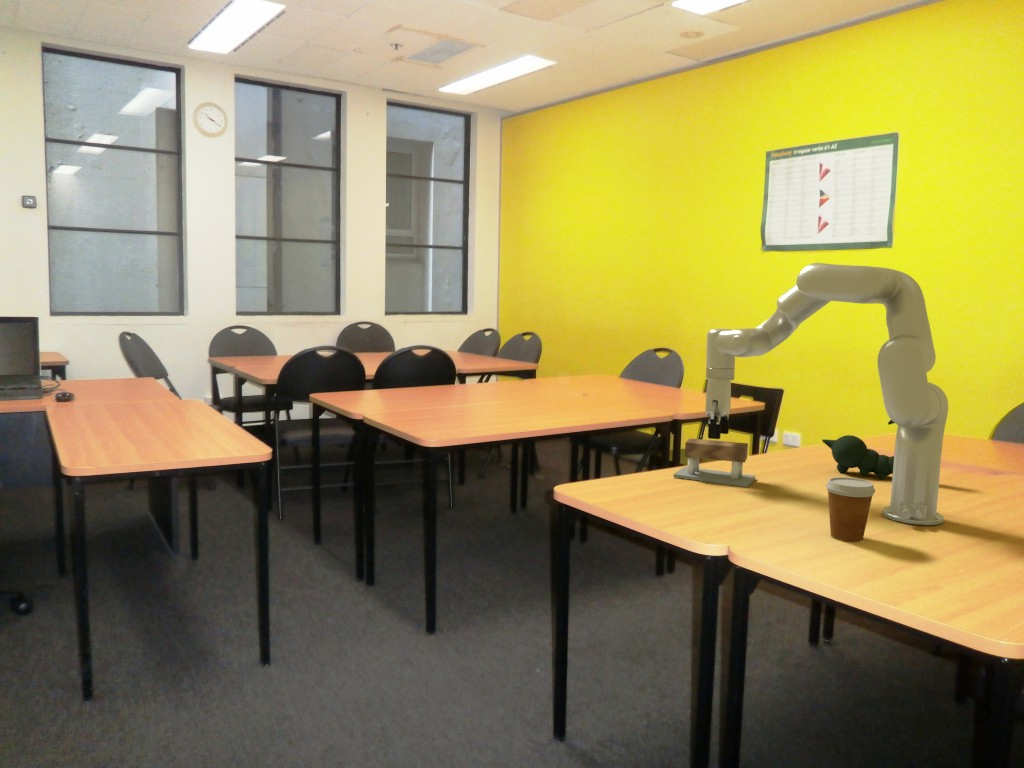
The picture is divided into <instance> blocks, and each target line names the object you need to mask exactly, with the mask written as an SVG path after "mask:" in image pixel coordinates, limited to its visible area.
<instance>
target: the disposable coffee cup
mask: <svg viewBox="0 0 1024 768" xmlns="http://www.w3.org/2000/svg"><path fill="white" fill-rule="evenodd" d="M825 484H826V485H825V487H826V490H827V497H828V511H829V512H828V513H829V527H830V528H829V529H830V531H829V532H830V537H832V538H833V539H836V540H839V541H842V542H849V543H850V542H851V543H857V542H858V543H859V542H862V541H864V537H865V532H866V527H867V522H868V519H869V513H870V507H871V504H872V499H873V496H874V495H875V492H876V489H875V487H874V483H872V482H871V481H869V480H865V479H861V478H855V477H847V476H844V477H843V476H837V477H836V476H835V477H831V478H828V481H827V483H825Z"/></svg>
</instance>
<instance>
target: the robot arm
mask: <svg viewBox="0 0 1024 768" xmlns="http://www.w3.org/2000/svg"><path fill="white" fill-rule="evenodd" d="M795 283H796V284H794V286H792V287H791V288H790V289H788V290H787V291H785V292H784V293H783V294H782V295H780V296H779V297H778V298H777V301H776V306H777V307H776V310H775V312H774V313H773V314H772V315H771V316H770V317H768V319H766V320H765V321H764V322H762V323H761V324H760V325H758V326H757V327H754V328H753V327H752V328H738V329H732V328H731V329H730V328H713V329H712V328H711V329H709V330H708V332H707V334H706V361H705V362H706V363H705V364H706V365H705V366H706V367H705V380H707V385H706V395H705V409H704V410H705V412H704V414H705V415H706V416H707V417H708V421H707V422H708V424H707V425H708V426H707V427H708V428H707V438H708V440H721V434H722V435H728V434H729V431H730V429H729V427H730V420H729V419H730V415H729V413H730V411H731V405H732V404H731V402H732V401H731V400H732V398H731V397H732V384H731V383H732V381H734V380H735V372H736V371H735V369H736V368H735V367H736V365H735V363H736V357H737V358H750V357H760V356H763V355H766V354H767V353H768V354H769V352H771V351H772V350H773V349H775V348H777V347H778V346H779V345H781V344H782V343H784V341H786V340H787V339H788V338H789V337H791V336H792V334H793V333H794V332H795V331H796V330H797V329H798V328H799V326H800V325H801V324H803V323H804V322H805V321H806V320H808V319H809V318H810V317H811V316H813V315H814V314H815V313H817V312H818V311H819V310H821V309H822V308H824V307H825V306H826V305H828V304H829V303H830V302H839V303H840V302H842V303H843V302H844V303H853V304H862V305H865V304H866V305H867V304H871V305H873V304H880V305H883V306H884V308H885V313H886V314H885V315H886V316H885V318H886V319H885V320H886V321H885V322H886V327H887V333H888V340H886V341H885V342H884V343H883V344H882V345H881V347H880V348H879V351H878V354H877V370H878V376H879V380H880V381H879V382H880V386H881V387H880V388H881V393H882V399H883V405H884V409H885V411H886V414H887V416H888V418H889V419H890V420H892V421H893V422H894V423H893V424H896V425H897V427H896V428H897V429H896V435H895V442H894V453H893V454H894V455H893V456H894V464H893V474H892V477H891V478H892V479H891V488H890V489H891V490H890V503H889V506H885V507H883V508H882V515H883V516H884V517H886V518H887V519H889V520H893V521H895V522H900V523H903V524H908V525H916V526H917V525H918V526H937V525H940V524H943V523H944V520H945V519H944V516H943V514H941V513H939V512H938V511H937V509H938V500H939V499H938V498H939V485H940V477H941V476H940V475H941V466H942V465H941V463H942V453H943V444H944V435H945V428H946V423H947V419H948V413H949V401H948V397H947V395H946V393H945V391H944V390H943V389H942V388H941V387H940V386H939V385H936V384H935V383H932V382H928V380H929V379H928V376H927V373H929V372H930V371H932V369H933V368H934V366H935V363H936V359H937V358H936V357H937V356H936V349H935V345H934V340H933V336H932V331H931V326H930V325H931V324H930V321H929V316H928V312H927V306H926V300H925V296H924V293H923V290H922V288H921V286H920V285H919V283H918V282H917V281H916V280H915V279H914V277H911V275H909V274H907V273H905V272H903V271H901V270H897V269H894V268H893V269H892V268H889V267H888V268H887V267H881V266H871V265H870V266H869V265H867V266H866V265H852V264H851V265H850V264H835V263H834V264H833V263H832V264H831V263H823V262H813V263H811V264H808V265H806V266H805V267H803V268H802V269H801V270H800V272H799V273H798V275H797V277H796V281H795Z"/></svg>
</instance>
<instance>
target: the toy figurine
mask: <svg viewBox="0 0 1024 768" xmlns="http://www.w3.org/2000/svg"><path fill="white" fill-rule="evenodd" d="M887 424H888V425H889V426H890V425H893V424H895V423H894V422H893V421H892V420H891V419H890V420H889V421H888V422H887ZM821 441H822V443H823V444H825V445H826V447H828V448H829V449H830V450H831V456H832V458H833V460H834V461H835V462H836V463H837V465H836V470H837V472H839V473H842V474H845V473H847V472H848V471H849V469H853V468H854V469H855V468H857V469H858V470H859V474H860V475H862V476H864V477H867V476H868V475H869V474H871V473H874V475H875V476H876V477H877V479H879V480H884V479H885V477H888V476H891V475H893V464H894V455H893V456H888V455H885V454H880V453H879V452H877V450H874V449H872V448H868V446H867V445H866V443H865V442H864V441H863V439H861V438H859V437H858V436H855V435H853V434H852V435H851V434H849V435H848V434H847V435H842V436H840V437H838V438H837V439H822V440H821Z"/></svg>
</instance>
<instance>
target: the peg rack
mask: <svg viewBox="0 0 1024 768" xmlns="http://www.w3.org/2000/svg"><path fill="white" fill-rule="evenodd" d="M743 463H744V462H734V461H731V469H730V470H731V471H724V470H714V469H706V468H700V458H692V457H687V466H683V467H681V469H679V470H677V471H676V472H674V473H673V477H678V478H677V479H680V478H684V479H683V480H687V479H691V480H690V481H695V480H699V481H698V482H702V481H704V483H709V484H710V483H711V484H719V485H726V486H732V485H733V486H734V487H740V486H741V487H742V488H749V486H750V485H751V484H752V483H753V482H754V481H755V480H756V475H754V474H753V475H752V474H746V473H745V474H744V473H743ZM741 487H740V488H741Z"/></svg>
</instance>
